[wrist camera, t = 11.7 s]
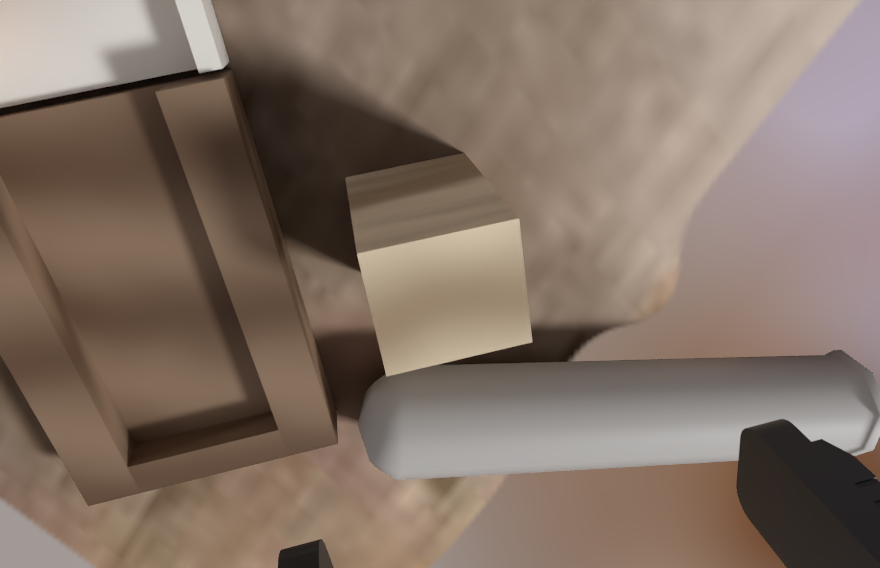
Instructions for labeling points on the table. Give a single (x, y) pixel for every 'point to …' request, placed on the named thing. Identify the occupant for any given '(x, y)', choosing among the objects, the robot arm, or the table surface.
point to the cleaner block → (438, 263)
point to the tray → (101, 44)
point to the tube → (608, 412)
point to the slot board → (153, 290)
